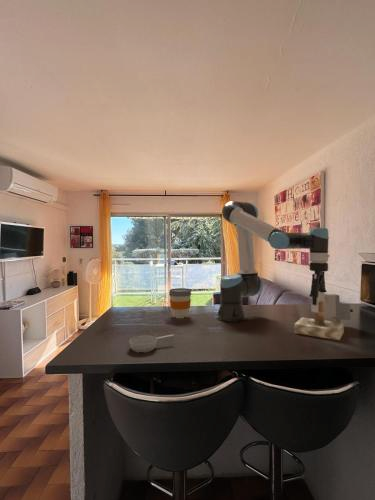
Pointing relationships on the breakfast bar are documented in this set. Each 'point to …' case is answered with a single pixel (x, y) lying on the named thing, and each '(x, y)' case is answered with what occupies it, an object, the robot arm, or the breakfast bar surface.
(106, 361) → the breakfast bar surface
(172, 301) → the reusable coffee cup
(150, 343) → the saucepan
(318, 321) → the peg
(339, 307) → the circuit breaker
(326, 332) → the board
